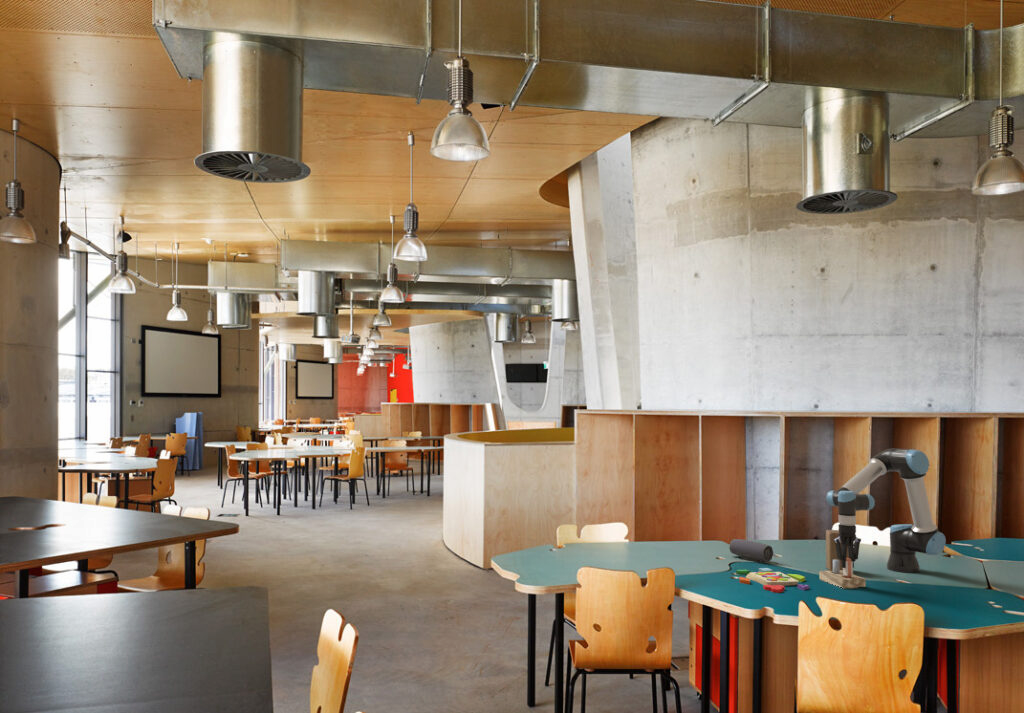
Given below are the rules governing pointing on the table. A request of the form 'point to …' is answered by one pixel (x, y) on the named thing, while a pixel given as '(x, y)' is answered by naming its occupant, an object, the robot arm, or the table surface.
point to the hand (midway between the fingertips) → (847, 574)
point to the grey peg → (836, 567)
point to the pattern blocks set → (772, 579)
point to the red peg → (848, 568)
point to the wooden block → (832, 549)
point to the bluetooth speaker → (751, 550)
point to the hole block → (842, 579)
